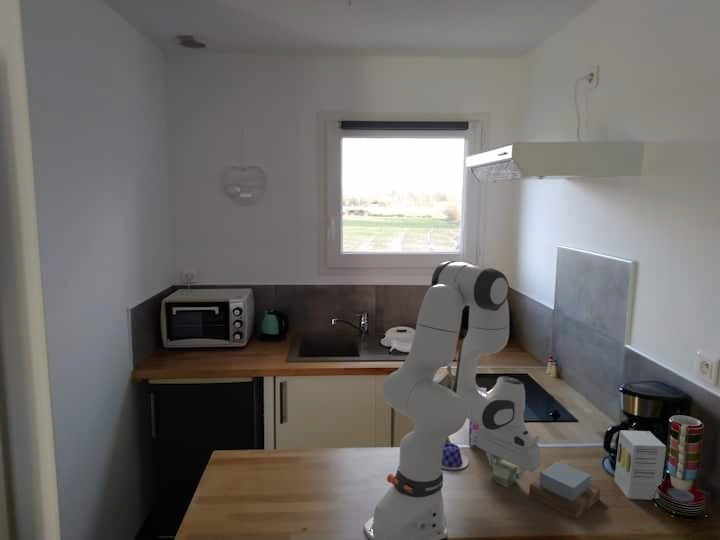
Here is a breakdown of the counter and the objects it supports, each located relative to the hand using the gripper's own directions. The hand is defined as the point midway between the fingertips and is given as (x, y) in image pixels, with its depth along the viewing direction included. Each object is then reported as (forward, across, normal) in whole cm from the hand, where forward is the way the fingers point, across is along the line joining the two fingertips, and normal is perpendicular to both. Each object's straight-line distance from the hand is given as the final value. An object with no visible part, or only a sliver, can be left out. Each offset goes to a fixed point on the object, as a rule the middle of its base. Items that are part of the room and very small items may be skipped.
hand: (505, 471), depth 157 cm
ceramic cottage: (+4, -50, +37) cm, 62 cm away
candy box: (+3, -22, +16) cm, 27 cm away
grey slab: (-1, +16, +5) cm, 17 cm away
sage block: (+3, 0, 0) cm, 3 cm away
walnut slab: (+3, +16, +5) cm, 17 cm away
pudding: (+3, -18, -4) cm, 19 cm away
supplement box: (+3, +28, +25) cm, 38 cm away
